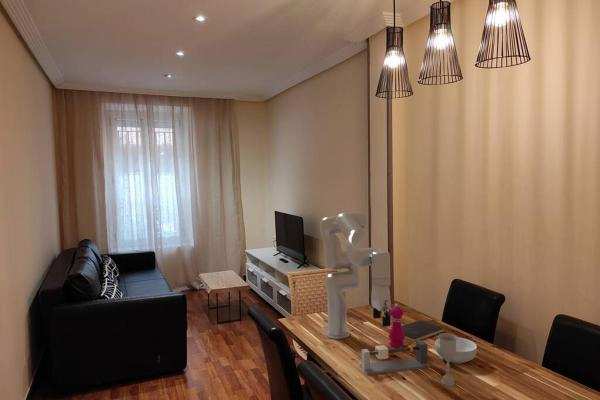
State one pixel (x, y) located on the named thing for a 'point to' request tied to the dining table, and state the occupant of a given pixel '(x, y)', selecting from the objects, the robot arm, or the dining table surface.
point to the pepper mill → (396, 328)
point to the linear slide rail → (396, 364)
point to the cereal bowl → (460, 350)
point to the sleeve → (381, 352)
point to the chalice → (447, 354)
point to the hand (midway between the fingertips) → (381, 321)
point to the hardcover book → (420, 330)
